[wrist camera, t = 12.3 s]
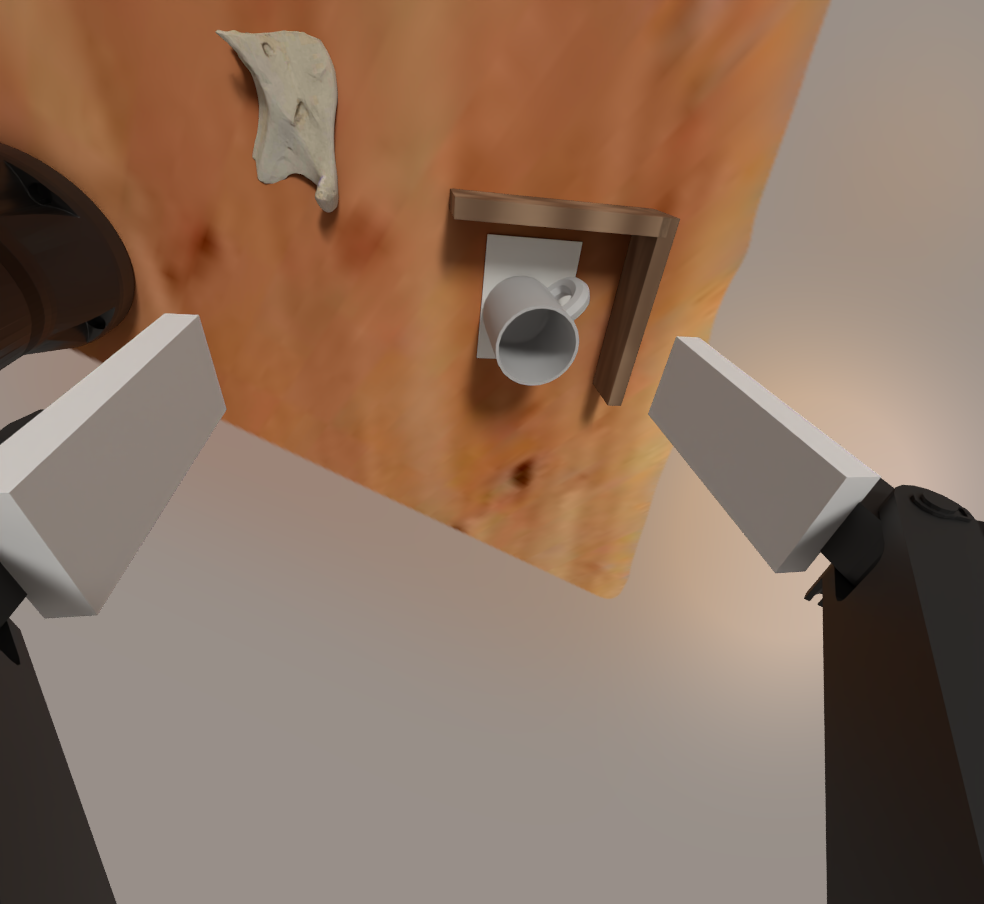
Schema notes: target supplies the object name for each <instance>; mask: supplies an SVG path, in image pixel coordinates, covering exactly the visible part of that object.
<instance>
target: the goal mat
mask: <svg viewBox="0 0 984 904" xmlns="http://www.w3.org/2000/svg"><path fill="white" fill-rule="evenodd" d="M582 243H583V242H578V241H566V240H554V239H542V238H530V237H518V236H506V235H494V234H487V245H486V257H485V268H484V280H483V291H482V302H481V314H480V325H479V336H478V348H477V358H492V359H496V357H495V354H494V351H493V348H492V346H491V343H490V340H489V337H488V334H487V331H486V328H485V325H484V321H483V308H484V304H485V300H486V298H487V297H488V295H489V293H490V291H491V290H492V289H493V288H494V287H495V286H496V285H497V284H498V283H500V282H502V281H503V280H505V279H507V278H510V277H513V276H528V277H532V278H535V279H536V280H538V281H540V282H541V283H542V284H543V285H544V286H546V287H547V288H548V287H549V286H550V285H552V284H553V283H555V282H557V281H558V280H560V279H563V278H566V277H576V272H577V267H578V262H579V257H580V252H581V248H582ZM570 298H571V296H569V295H567V296H564V297H562V298H560V299H559V300H558V302H559V303H560V305H561V306H563V305H565V304H566V303H567V302H568V301H569V300H570Z"/></svg>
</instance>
